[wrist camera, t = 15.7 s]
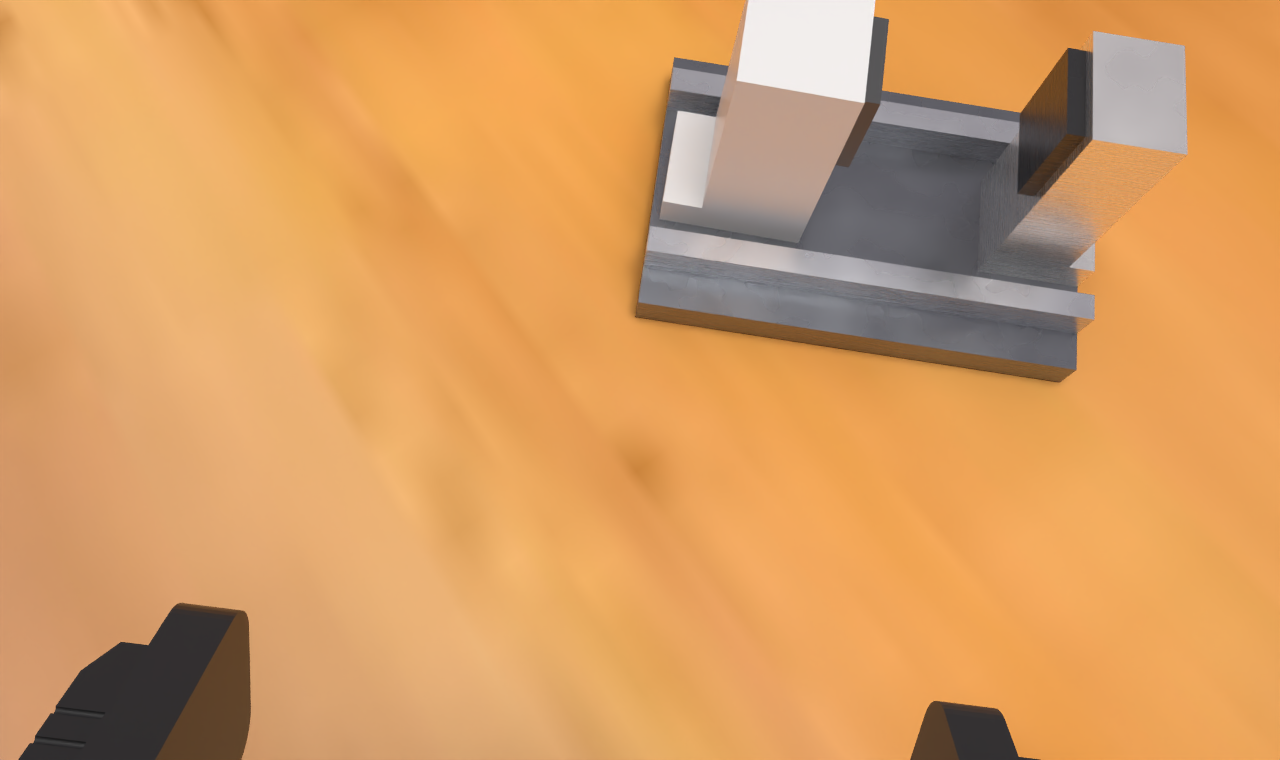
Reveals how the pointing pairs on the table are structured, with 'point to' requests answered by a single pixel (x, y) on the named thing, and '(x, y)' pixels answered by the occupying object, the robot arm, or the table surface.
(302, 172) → the table surface
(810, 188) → the white stepped block
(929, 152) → the rail
